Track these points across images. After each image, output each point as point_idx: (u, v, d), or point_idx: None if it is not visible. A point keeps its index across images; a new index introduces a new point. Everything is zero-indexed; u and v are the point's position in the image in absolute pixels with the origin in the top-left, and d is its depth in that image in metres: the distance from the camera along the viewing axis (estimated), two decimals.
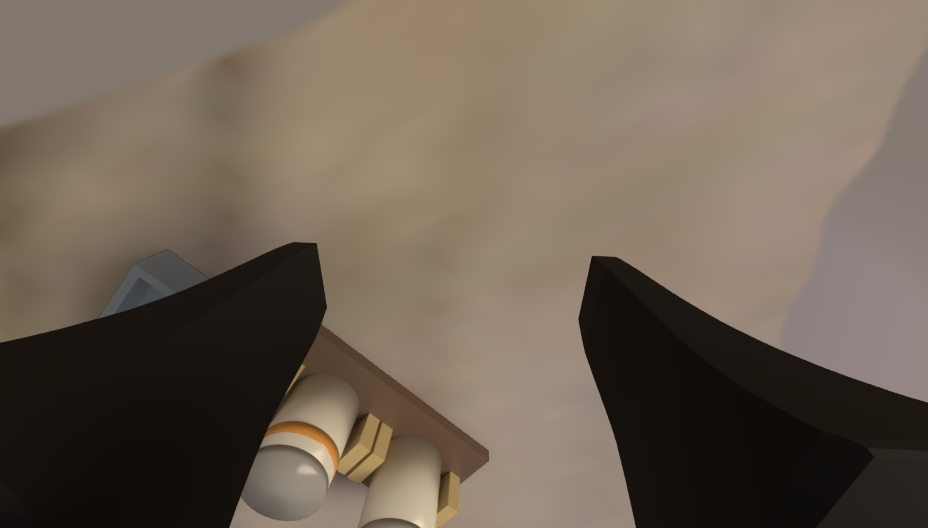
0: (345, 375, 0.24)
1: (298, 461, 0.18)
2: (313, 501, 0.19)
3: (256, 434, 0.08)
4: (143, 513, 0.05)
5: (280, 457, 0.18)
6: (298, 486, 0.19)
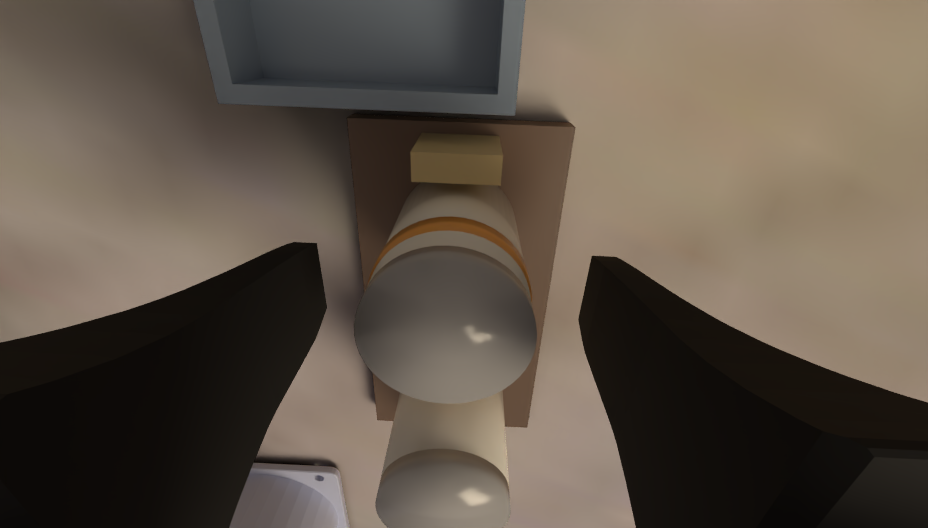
0: (525, 222, 0.14)
1: (531, 330, 0.09)
2: (462, 390, 0.10)
3: (256, 433, 0.08)
4: (143, 513, 0.05)
5: (518, 302, 0.08)
6: (476, 358, 0.09)
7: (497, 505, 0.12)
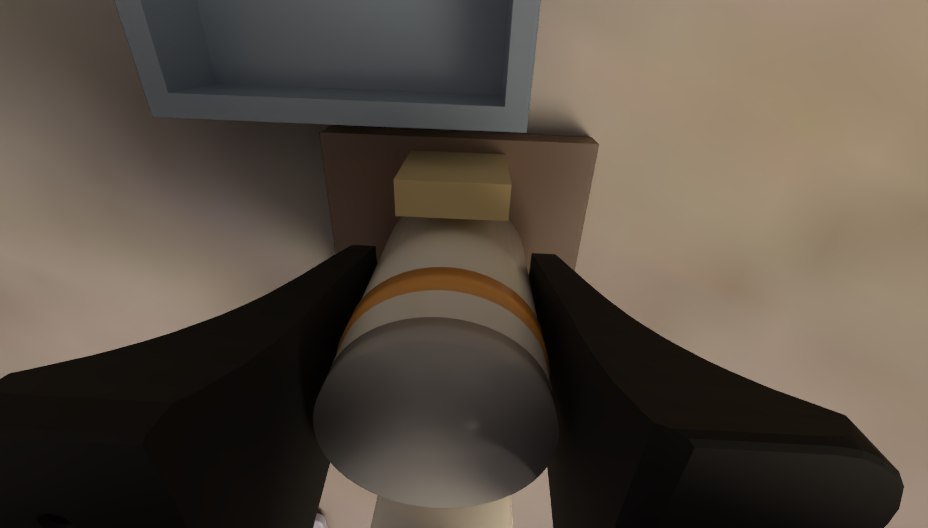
0: None
1: (551, 427, 0.07)
2: (459, 494, 0.07)
3: None
4: (257, 519, 0.05)
5: (535, 395, 0.06)
6: (476, 459, 0.07)
7: None
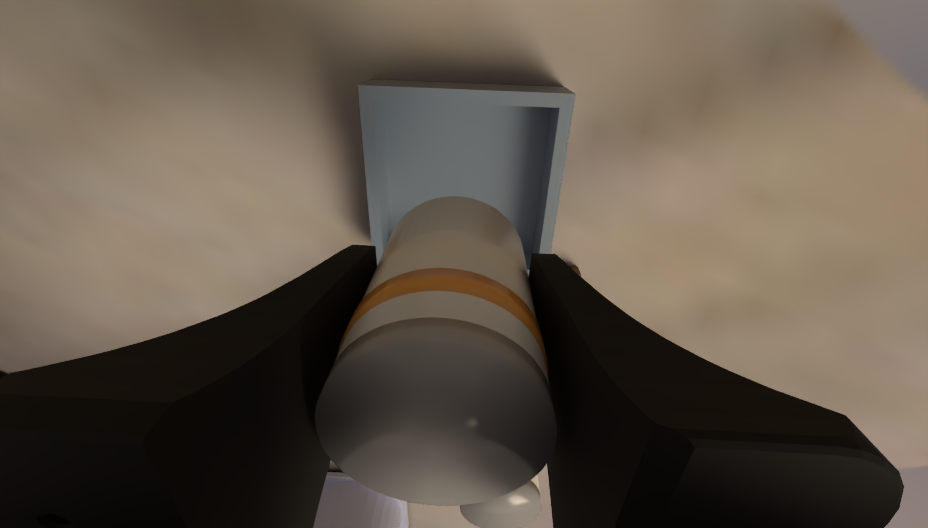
0: None
1: (549, 423, 0.07)
2: (461, 491, 0.08)
3: None
4: (257, 519, 0.05)
5: (531, 392, 0.06)
6: (477, 456, 0.07)
7: (533, 505, 0.20)
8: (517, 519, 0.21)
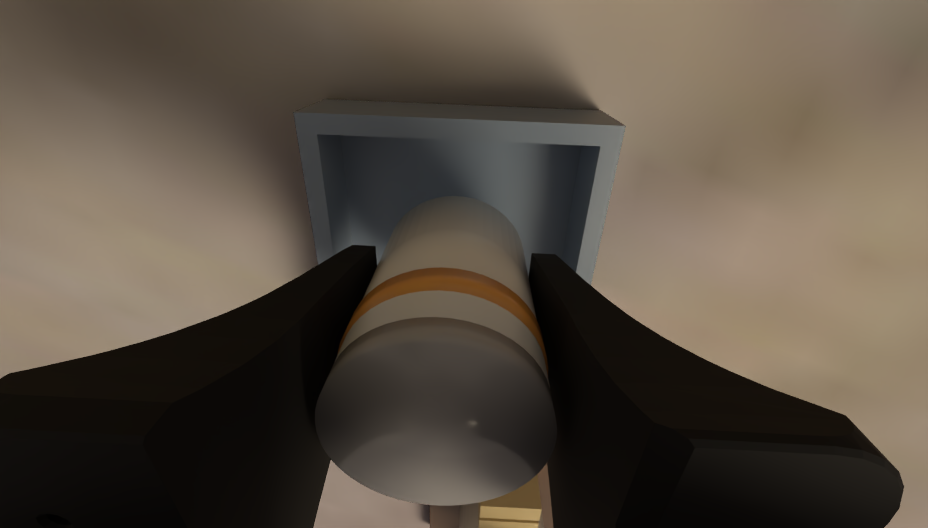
0: None
1: (549, 423, 0.07)
2: (461, 491, 0.08)
3: None
4: (257, 519, 0.05)
5: (531, 392, 0.06)
6: (477, 456, 0.07)
7: None
8: None
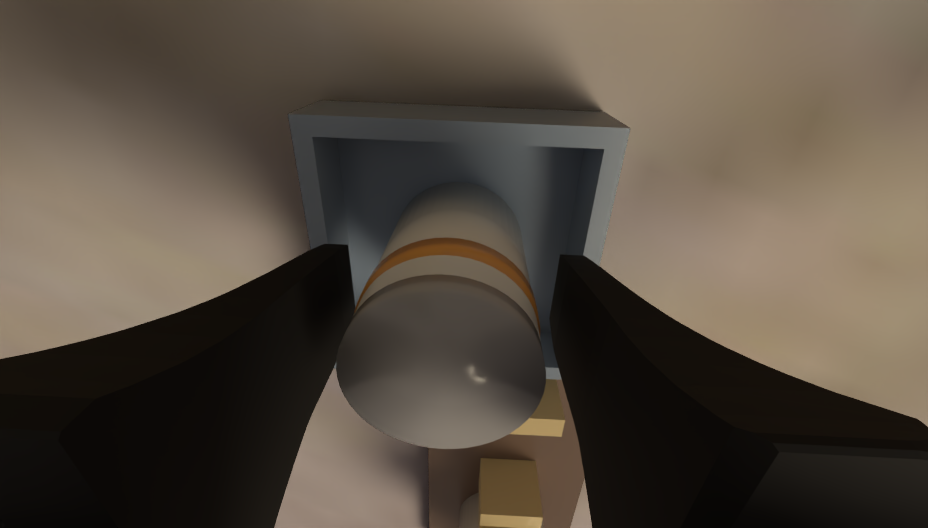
0: (571, 420, 0.17)
1: (539, 369, 0.08)
2: (462, 435, 0.09)
3: (296, 435, 0.08)
4: (204, 516, 0.05)
5: (523, 339, 0.07)
6: (476, 400, 0.08)
7: None
8: None
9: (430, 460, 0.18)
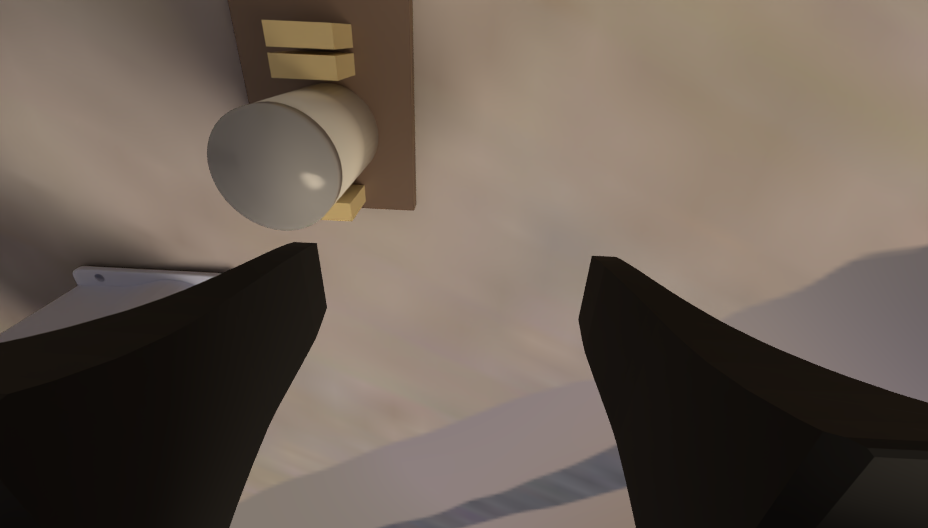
0: None
1: None
2: None
3: (256, 433, 0.08)
4: (143, 513, 0.05)
5: None
6: None
7: (322, 162, 0.13)
8: (306, 200, 0.13)
9: (236, 29, 0.16)
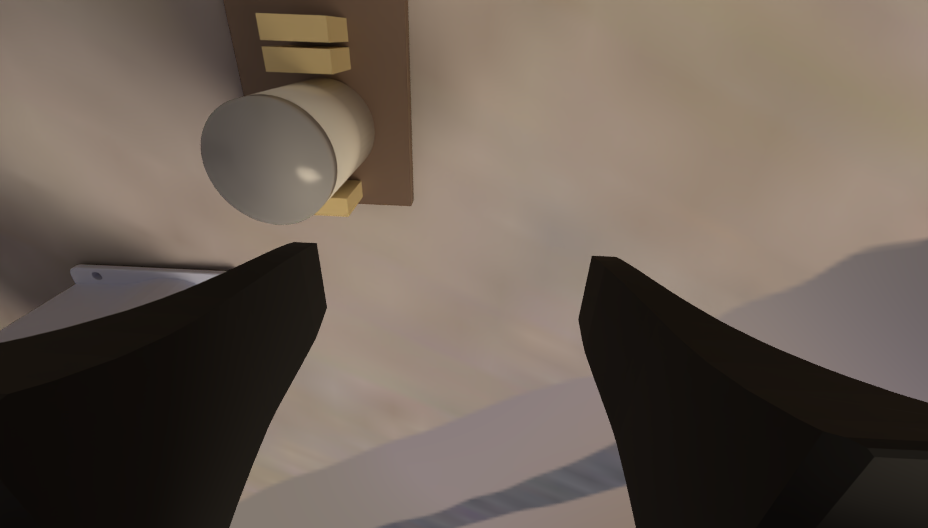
0: None
1: None
2: None
3: (256, 433, 0.08)
4: (143, 513, 0.05)
5: None
6: None
7: (316, 155, 0.12)
8: (301, 194, 0.13)
9: (230, 24, 0.16)
